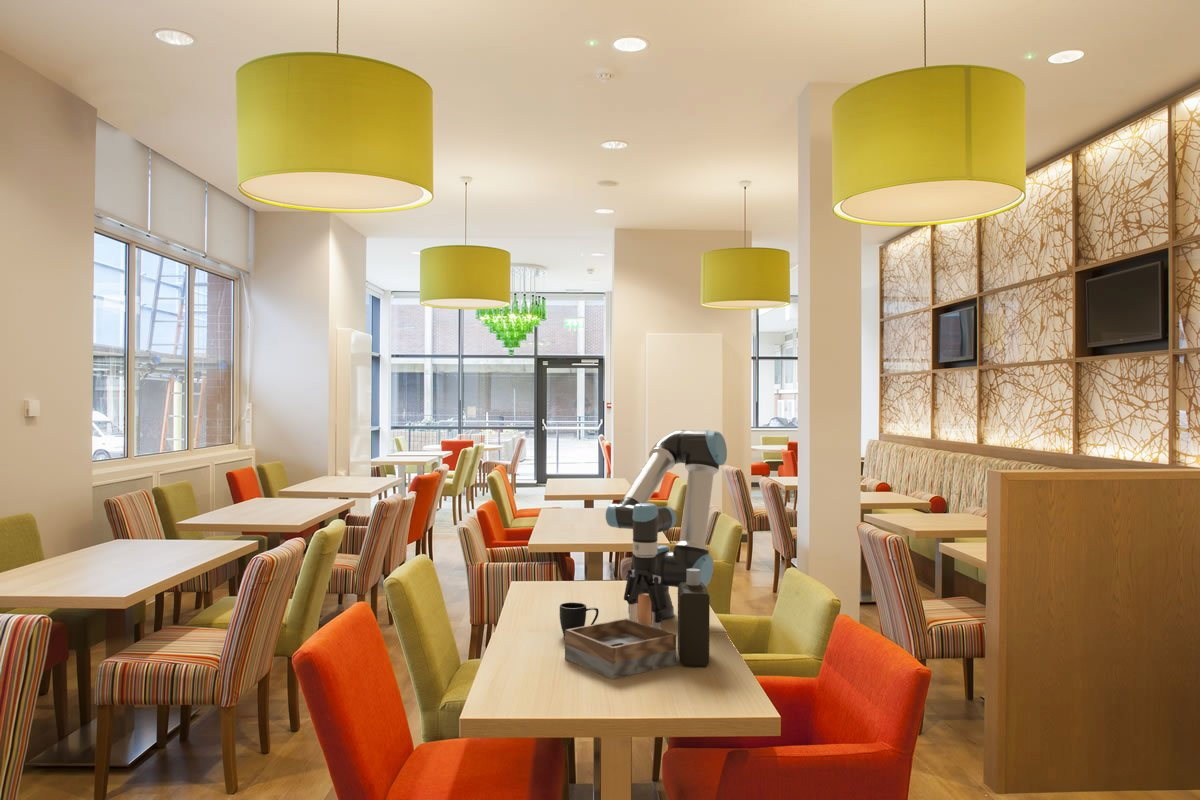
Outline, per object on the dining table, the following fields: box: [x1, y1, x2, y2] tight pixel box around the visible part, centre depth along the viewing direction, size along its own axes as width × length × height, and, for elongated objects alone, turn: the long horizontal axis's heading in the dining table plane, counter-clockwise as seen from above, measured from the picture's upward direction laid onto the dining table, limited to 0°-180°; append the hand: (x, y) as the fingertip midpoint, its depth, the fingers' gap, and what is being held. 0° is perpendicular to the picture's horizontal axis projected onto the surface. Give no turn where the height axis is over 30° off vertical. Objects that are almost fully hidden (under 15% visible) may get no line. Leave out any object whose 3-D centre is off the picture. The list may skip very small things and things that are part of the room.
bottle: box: [677, 568, 711, 668], centre depth 231 cm, size 8×16×25 cm, turn 177°
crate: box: [564, 617, 677, 680], centre depth 229 cm, size 22×22×8 cm
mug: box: [559, 601, 600, 638], centre depth 253 cm, size 8×12×10 cm
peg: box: [638, 594, 652, 627], centre depth 248 cm, size 4×4×14 cm
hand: (644, 629), depth 248 cm, fingers open, 10 cm apart
